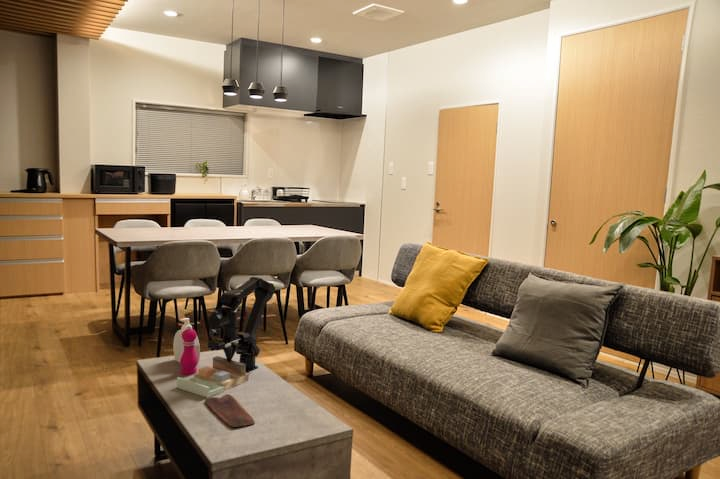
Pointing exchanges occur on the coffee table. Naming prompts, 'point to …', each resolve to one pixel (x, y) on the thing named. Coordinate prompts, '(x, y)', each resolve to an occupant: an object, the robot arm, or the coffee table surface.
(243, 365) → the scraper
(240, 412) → the wooden tablet
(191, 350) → the pepper mill
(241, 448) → the coffee table surface
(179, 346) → the soap bottle
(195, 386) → the tray
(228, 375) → the grey square block
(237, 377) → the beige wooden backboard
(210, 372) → the terracotta tile
